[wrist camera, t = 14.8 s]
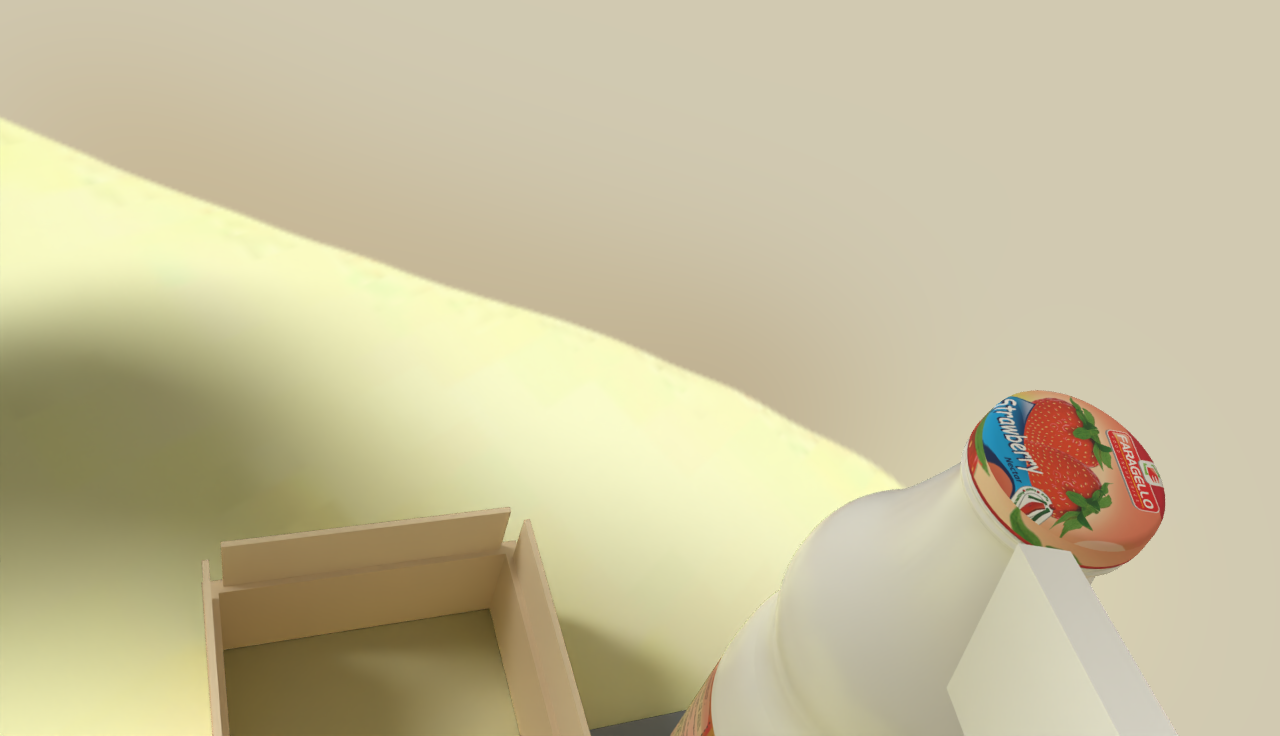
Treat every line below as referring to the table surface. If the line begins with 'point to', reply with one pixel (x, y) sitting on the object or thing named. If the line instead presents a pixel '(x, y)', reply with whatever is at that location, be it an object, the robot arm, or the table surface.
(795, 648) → the fruit juice
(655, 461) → the table surface
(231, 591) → the carton
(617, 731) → the coaster
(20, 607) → the table surface
